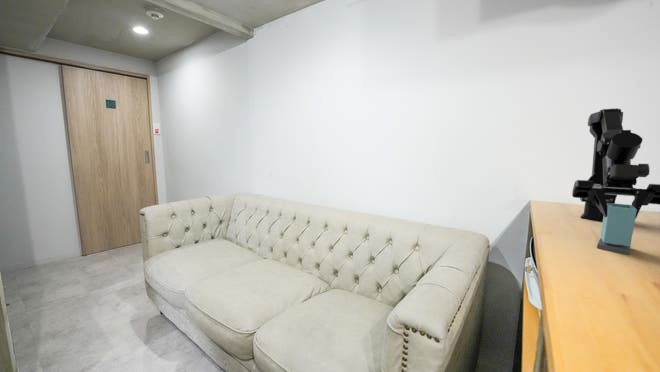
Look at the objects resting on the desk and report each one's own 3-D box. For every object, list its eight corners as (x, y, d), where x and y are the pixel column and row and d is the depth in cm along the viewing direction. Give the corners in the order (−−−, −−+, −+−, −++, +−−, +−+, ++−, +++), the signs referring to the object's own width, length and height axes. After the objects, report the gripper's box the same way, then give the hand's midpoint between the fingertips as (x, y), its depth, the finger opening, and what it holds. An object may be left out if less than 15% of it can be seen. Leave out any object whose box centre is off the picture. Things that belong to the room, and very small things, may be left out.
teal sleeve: (600, 236, 79) (605, 202, 77) (625, 240, 76) (631, 205, 74) (603, 242, 75) (609, 206, 73) (630, 246, 72) (636, 209, 70)
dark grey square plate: (599, 242, 80) (602, 227, 79) (630, 248, 75) (633, 232, 75) (596, 247, 76) (599, 232, 75) (628, 254, 72) (631, 238, 71)
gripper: (578, 152, 80) (578, 197, 73) (678, 153, 69) (689, 206, 62) (572, 175, 87) (571, 218, 81) (661, 179, 76) (668, 229, 70)
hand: (619, 217), depth 73 cm, fingers closed on teal sleeve, 5 cm apart
